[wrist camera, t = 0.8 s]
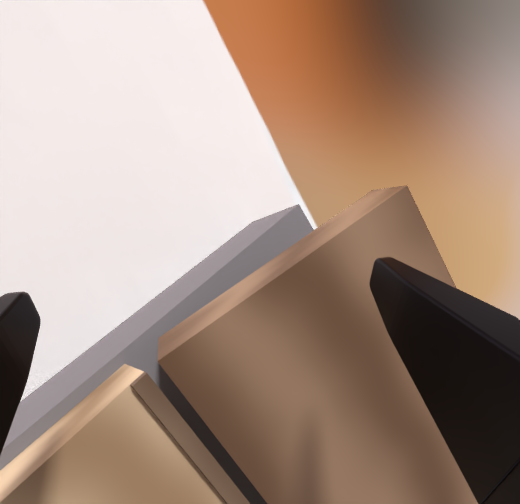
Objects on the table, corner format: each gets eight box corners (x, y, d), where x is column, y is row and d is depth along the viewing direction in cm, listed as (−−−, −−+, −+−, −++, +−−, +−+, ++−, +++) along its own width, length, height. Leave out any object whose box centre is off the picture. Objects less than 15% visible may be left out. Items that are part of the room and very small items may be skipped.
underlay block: (202, 674, 19) (255, 772, 15) (-32, 442, 15) (-47, 490, 11) (362, 400, 29) (418, 413, 25) (252, 221, 25) (298, 204, 21)
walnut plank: (342, 581, 18) (369, 635, 16) (158, 337, 15) (157, 361, 12) (497, 436, 20) (541, 465, 18) (372, 190, 17) (407, 185, 14)
